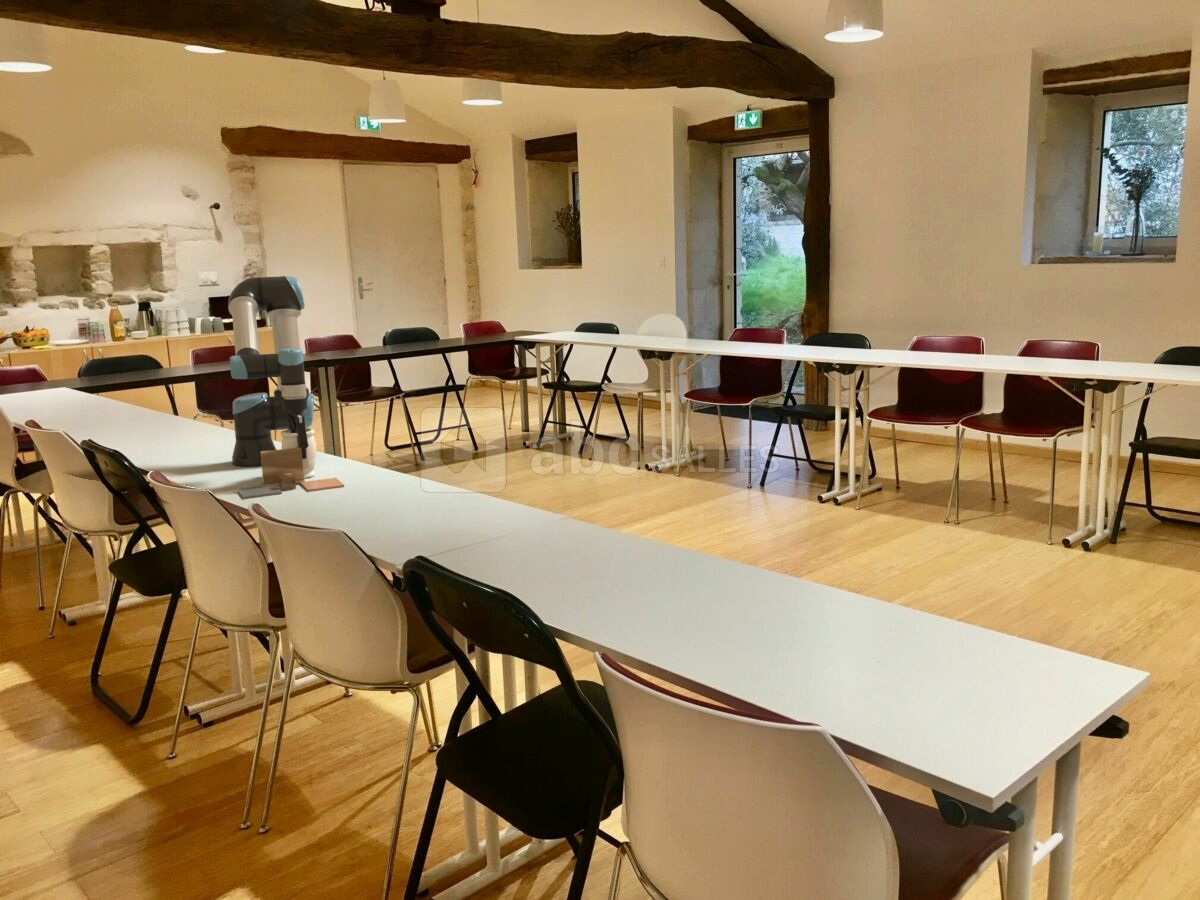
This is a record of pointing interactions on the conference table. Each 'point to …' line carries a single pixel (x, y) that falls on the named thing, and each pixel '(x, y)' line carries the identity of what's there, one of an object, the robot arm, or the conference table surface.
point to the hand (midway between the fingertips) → (300, 465)
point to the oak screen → (281, 465)
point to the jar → (291, 442)
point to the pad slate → (258, 491)
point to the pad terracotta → (322, 484)
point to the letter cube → (287, 481)
